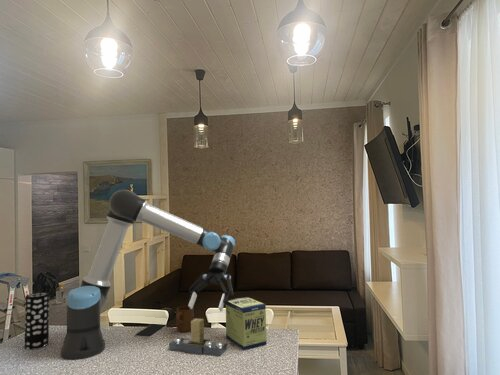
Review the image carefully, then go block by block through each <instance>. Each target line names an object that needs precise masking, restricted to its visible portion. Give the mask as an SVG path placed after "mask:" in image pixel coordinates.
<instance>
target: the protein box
mask: <svg viewBox="0 0 500 375" xmlns="http://www.w3.org/2000/svg"><path fill="white" fill-rule="evenodd" d="M266 305H267V304H266V303H263V302H261V301H258V300H256V299H254V298H250V297H249V296H245V297H238V298H233V299H232V298H231V299H228V300H227V303H225V331H226V332H225V338H226V339H227V340H228V341H229V342H231V343H232V344H234V345H235V346H237V347H238V348H240V349H241V350H242V351H247V350H250V349H254V348H259V347H263V346H266V345H267V344H268V343H267V310H266V309H267V308H266Z"/></svg>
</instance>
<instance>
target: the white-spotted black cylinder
mask: <svg viewBox="0 0 500 375" xmlns="http://www.w3.org/2000/svg"><path fill="white" fill-rule="evenodd" d="M24 303H25V304H24V306H25V309H24V310H25V311H24V344H23V345H24V349H26V350H35V349H34V348H36V349H40V348H39V347H41V348H43V347H42V346H44V345H46V344H47V345H49V343H48V342H49V339H50V338H49V336H50V333H49V332H50V331H49V330H50V292H37V293H36V292H35V293H29V294H27V295H25V302H24ZM47 345H46V346H47ZM44 347H45V346H44Z"/></svg>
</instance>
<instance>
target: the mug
mask: <svg viewBox="0 0 500 375" xmlns="http://www.w3.org/2000/svg"><path fill="white" fill-rule="evenodd" d="M194 311H195V310H194V307H193V308H192V309H190V308H189V306H188V305H183V306H178V307H177V308H176V316H175V322H176V331H177V332H180V333H188V332H191V321H192V320H194V319H195V314H194V313H195V312H194Z"/></svg>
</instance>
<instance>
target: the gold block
mask: <svg viewBox="0 0 500 375" xmlns="http://www.w3.org/2000/svg"><path fill="white" fill-rule="evenodd" d="M190 339H191V344H197V345H203V344H204V339H205V320H204V318H195V317H194V320H192V321H191V331H190Z"/></svg>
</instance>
